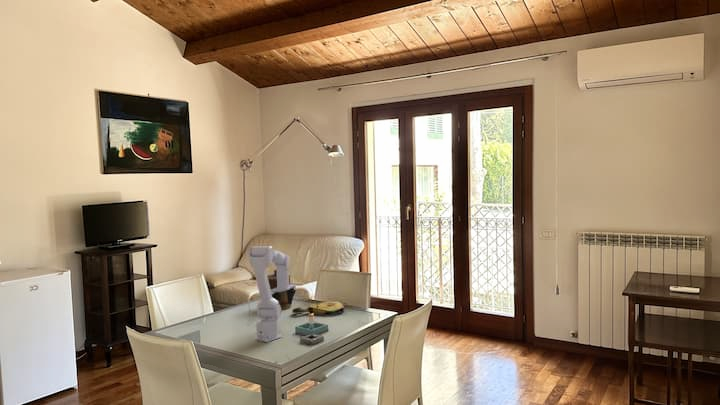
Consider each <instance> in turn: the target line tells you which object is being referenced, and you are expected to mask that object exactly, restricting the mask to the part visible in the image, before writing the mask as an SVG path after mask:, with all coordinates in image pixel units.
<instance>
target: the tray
mask: <svg viewBox="0 0 720 405" xmlns="http://www.w3.org/2000/svg"><path fill="white" fill-rule="evenodd" d="M314 328H315V329H313V330H310V329H309V321H308V322H305V323H302V324H299V325H296V326H295V327H294V330H295V334H298V335H303V336H306V335H309V334H316V335H321V334H323V333H326V332H329V324H328V323H323V322H317V321H314Z"/></svg>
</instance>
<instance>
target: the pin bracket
mask: <svg viewBox="0 0 720 405" xmlns="http://www.w3.org/2000/svg"><path fill="white" fill-rule="evenodd" d="M324 341H325V336H324V335H321V334H319V335H316V334H309V335H303V336H301V337H299V343H302V344H304V345H305V344H306V345H308V346H309V345H310V346H314V345H317V344H319V343H321V342H324Z"/></svg>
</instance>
